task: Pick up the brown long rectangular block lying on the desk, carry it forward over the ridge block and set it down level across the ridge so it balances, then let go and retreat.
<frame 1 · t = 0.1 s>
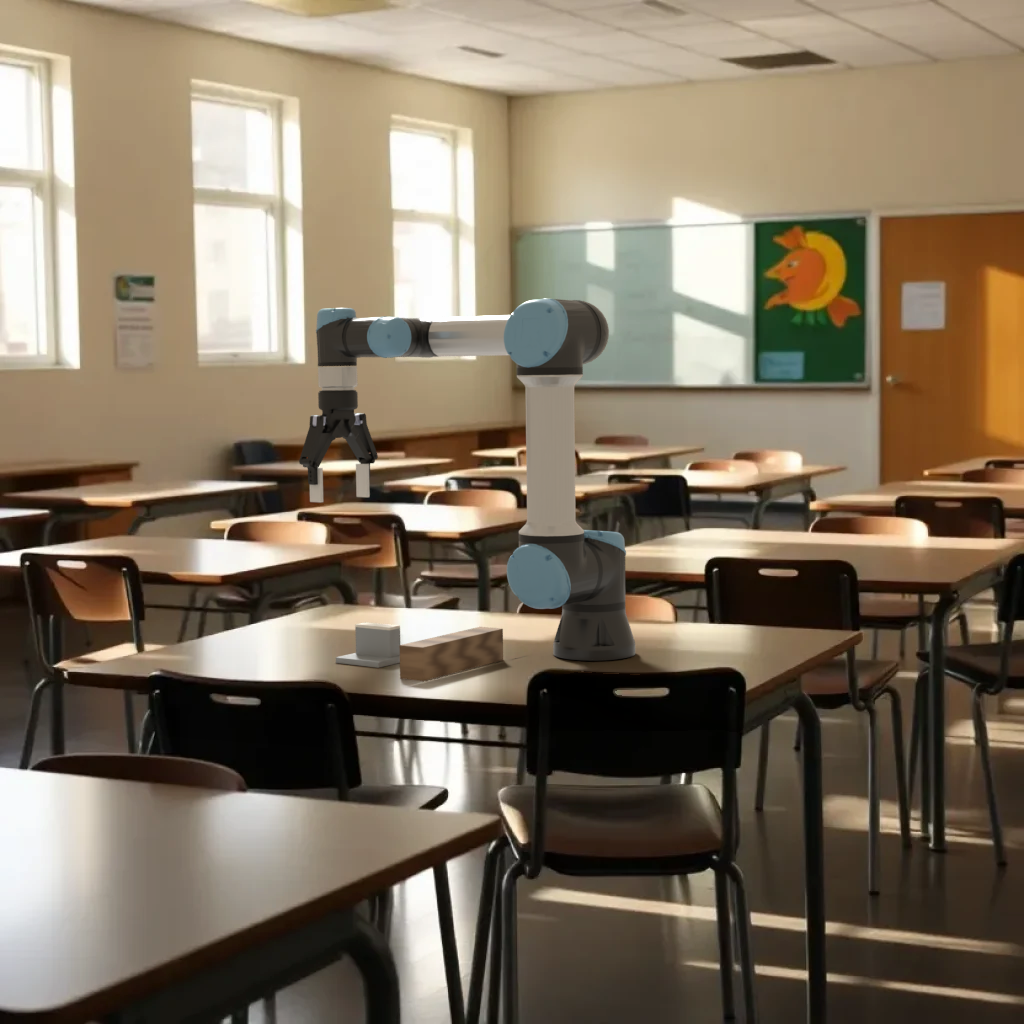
hand: (340, 499, 334), 28 cm above the table, fingers open, 13 cm apart
fulcrum: (378, 660, 315), on the table
brown long rectangular block: (453, 670, 305), on the table
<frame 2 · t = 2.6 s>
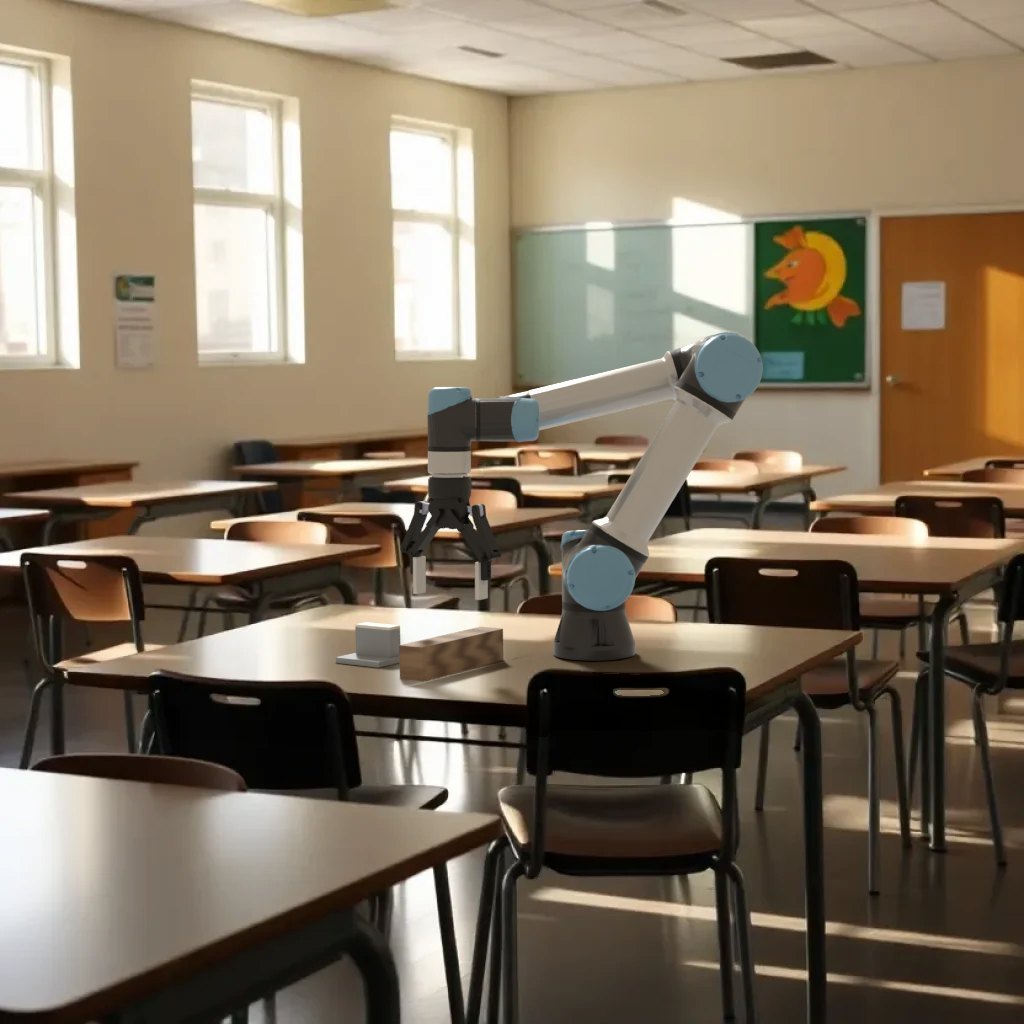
hand: (450, 596, 304), 13 cm above the table, fingers open, 13 cm apart
nothing on the table moved.
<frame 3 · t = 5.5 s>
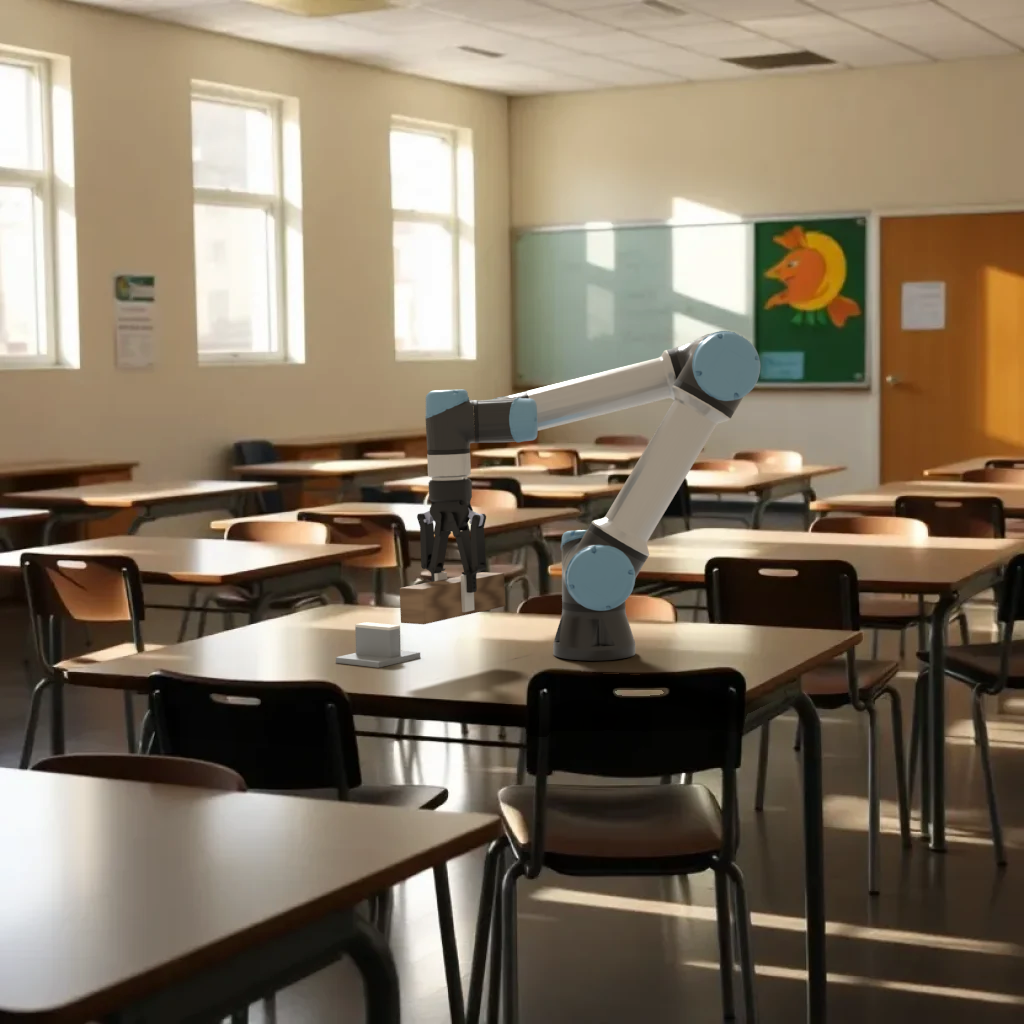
hand: (455, 609, 304), 10 cm above the table, fingers closed on brown long rectangular block, 5 cm apart
brown long rectangular block: (454, 614, 304), point 10 cm above the table, touching gripper
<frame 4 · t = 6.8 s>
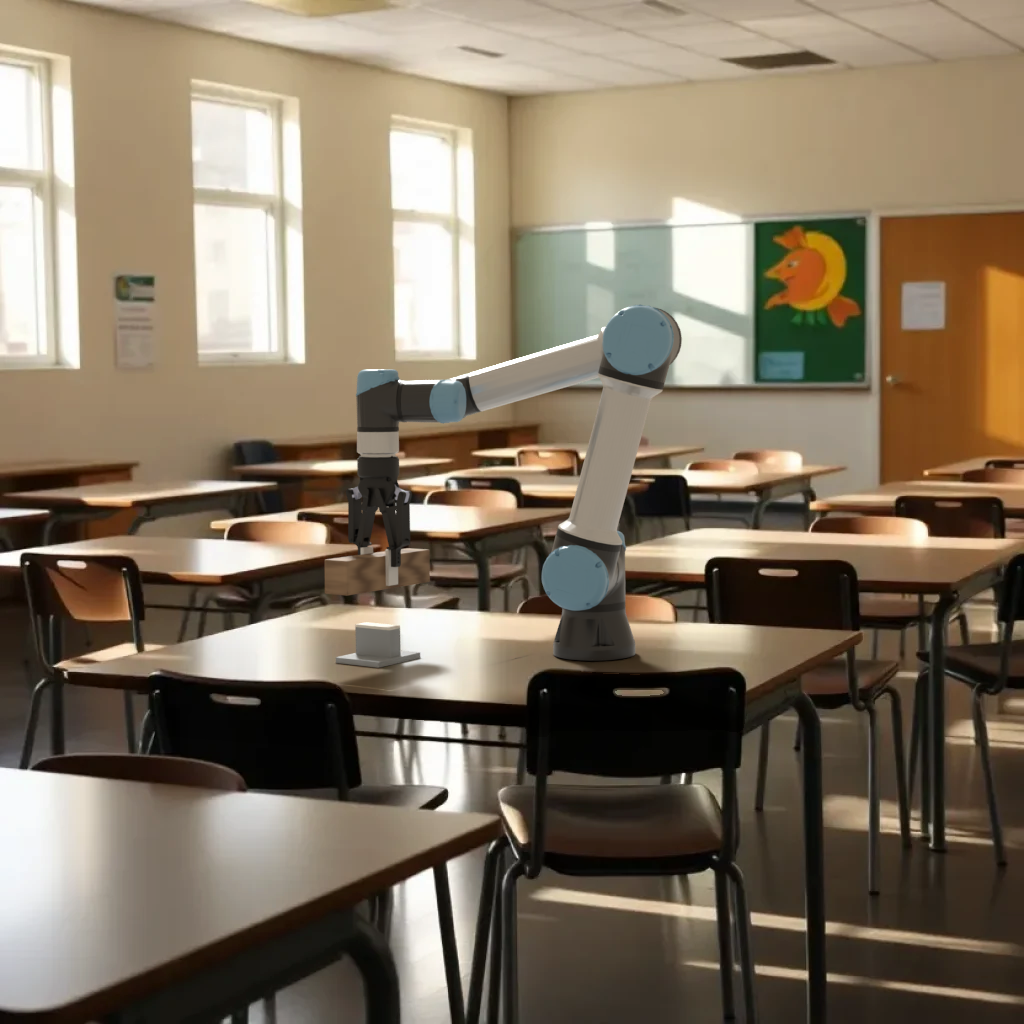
hand: (379, 583, 313), 14 cm above the table, fingers closed on brown long rectangular block, 5 cm apart
brown long rectangular block: (378, 587, 313), point 13 cm above the table, touching gripper
when the fingers open (7 cm above the table, at t = 8.2 s): brown long rectangular block stays where it is, resting on fulcrum.
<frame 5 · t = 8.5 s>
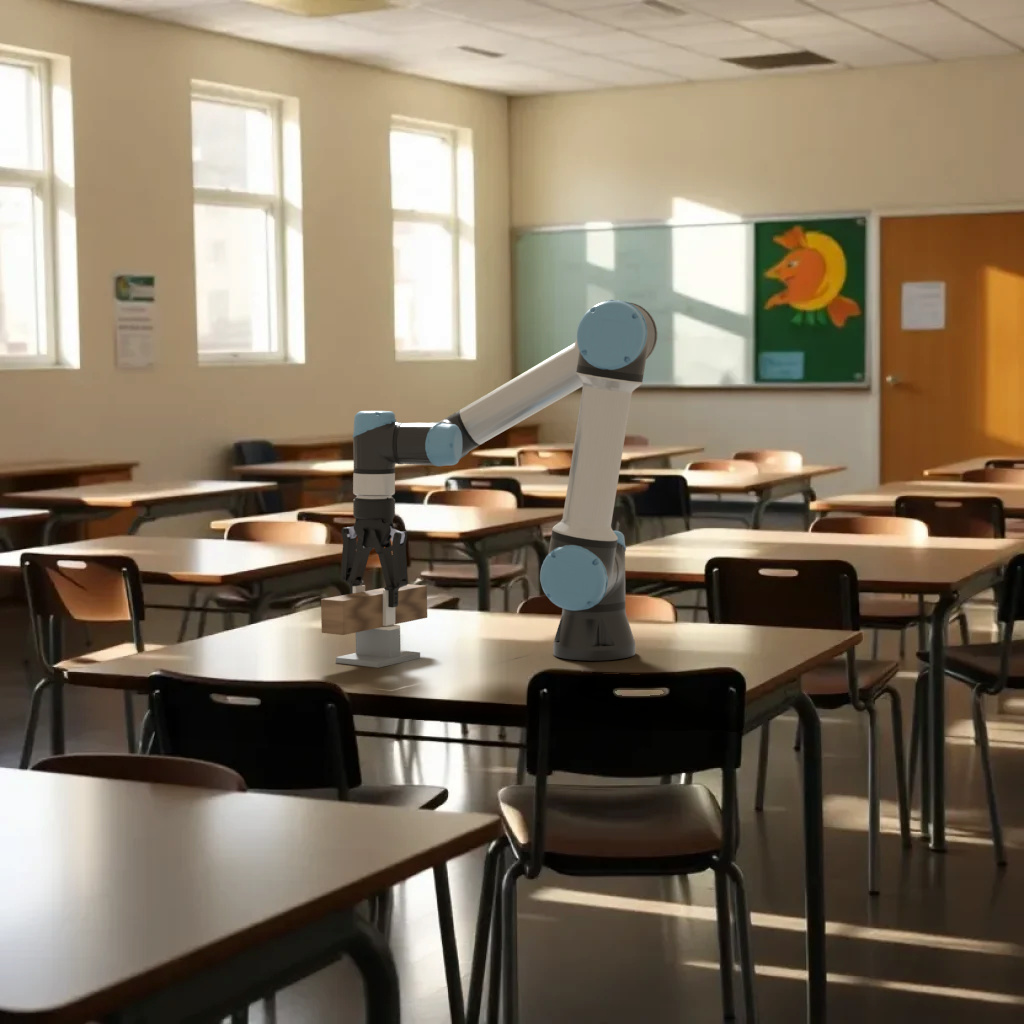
hand: (373, 622, 314), 7 cm above the table, fingers open, 6 cm apart
brown long rectangular block: (375, 625, 314), point 6 cm above the table, touching fulcrum, gripper
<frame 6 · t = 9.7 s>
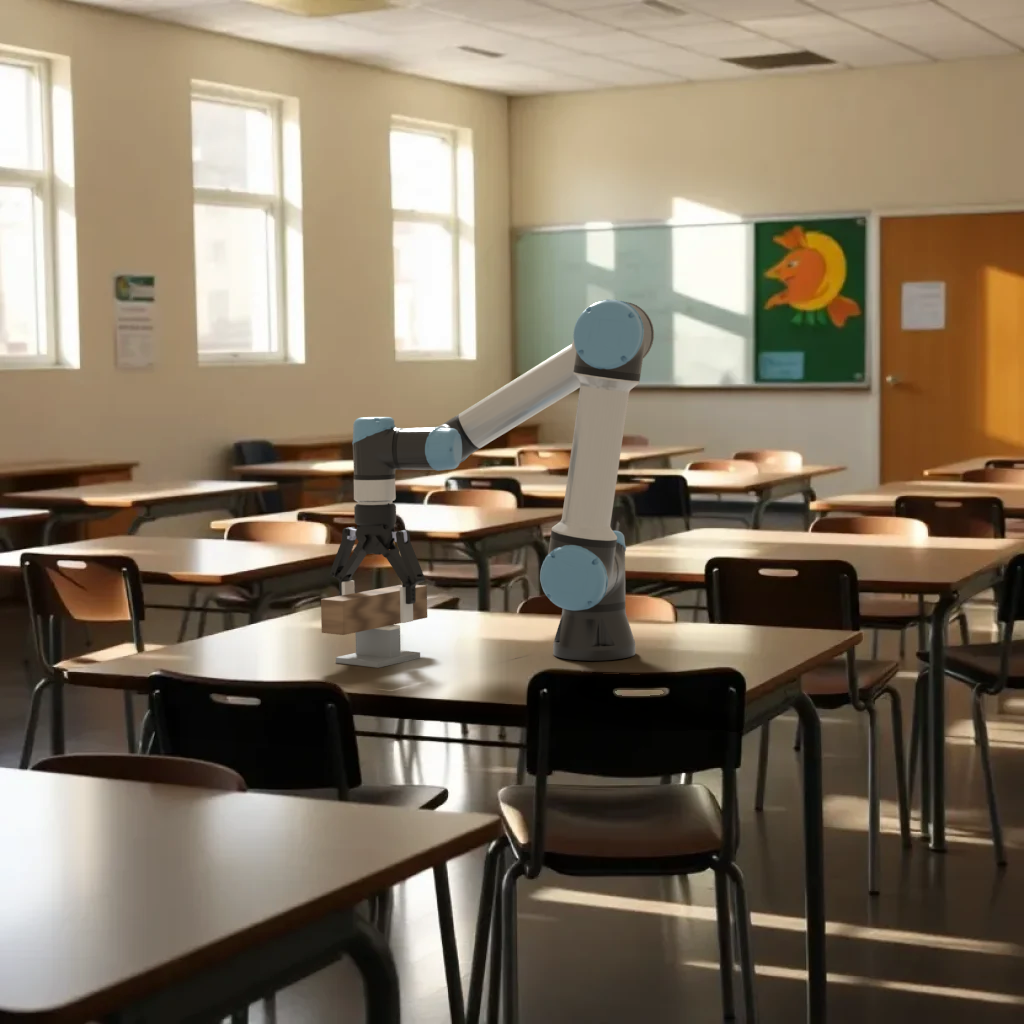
hand: (377, 619, 314), 8 cm above the table, fingers open, 13 cm apart
brown long rectangular block: (375, 625, 314), point 6 cm above the table, touching fulcrum
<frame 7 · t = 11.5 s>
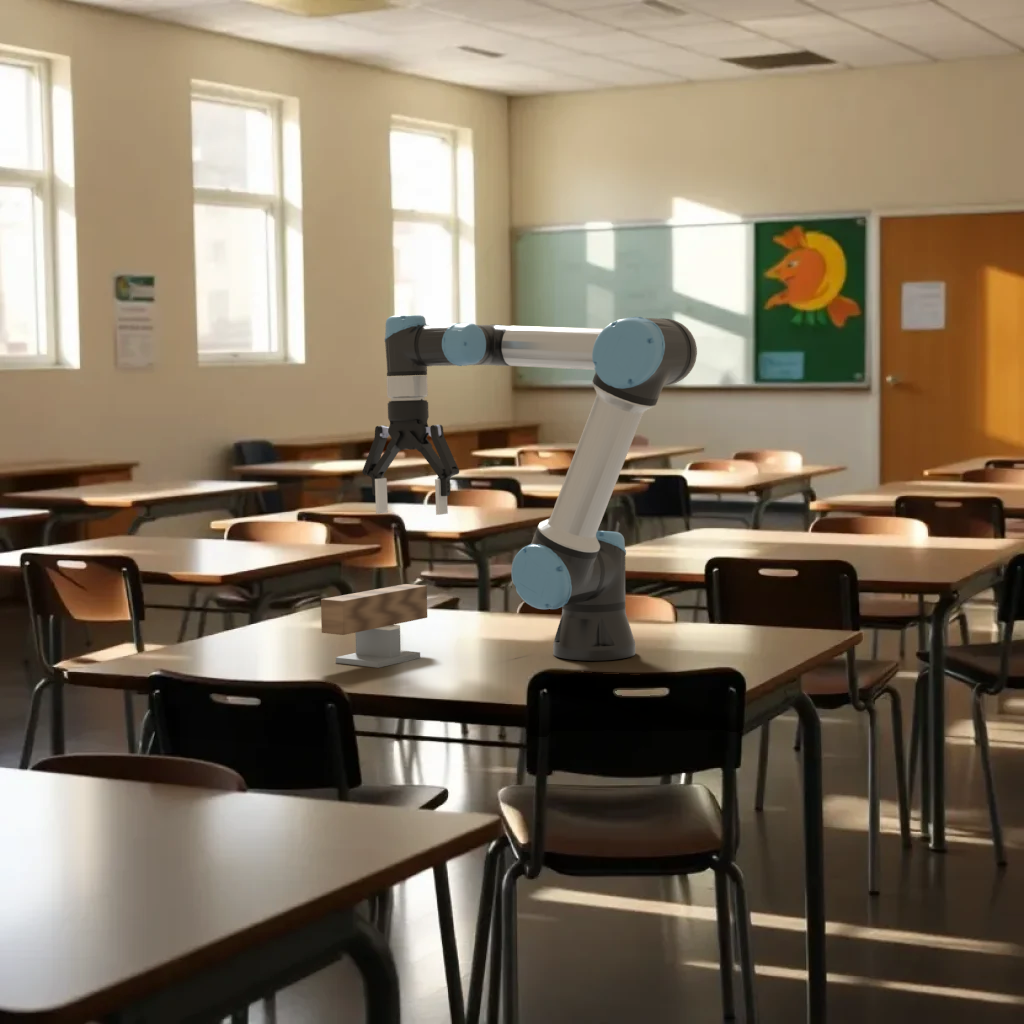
hand: (411, 513, 322), 26 cm above the table, fingers open, 13 cm apart
nothing on the table moved.
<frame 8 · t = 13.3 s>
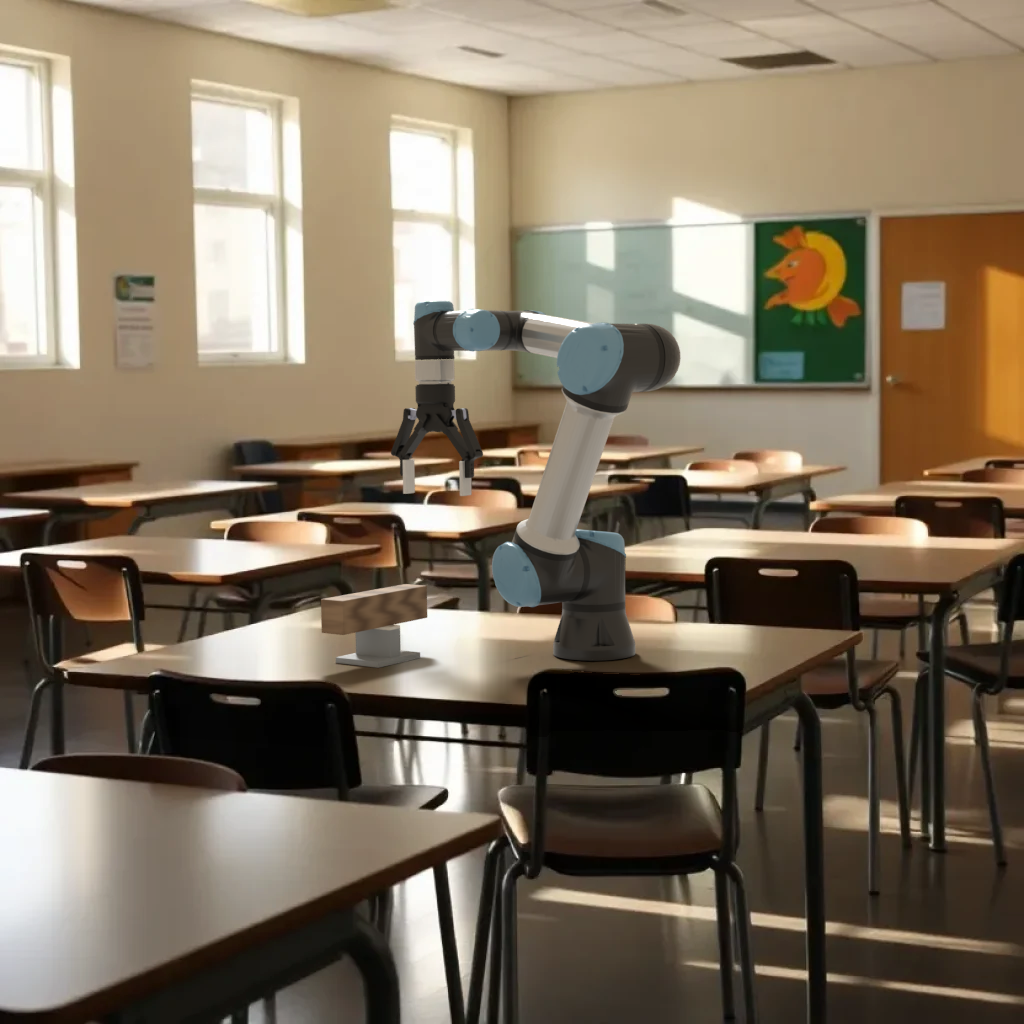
hand: (437, 494, 331), 29 cm above the table, fingers open, 13 cm apart
nothing on the table moved.
at the end: brown long rectangular block inside the target area on the fulcrum (0.3 cm from its centre), point 6.5 cm above the fulcrum's base; brown long rectangular block tilted 0°; brown long rectangular block touching fulcrum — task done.
